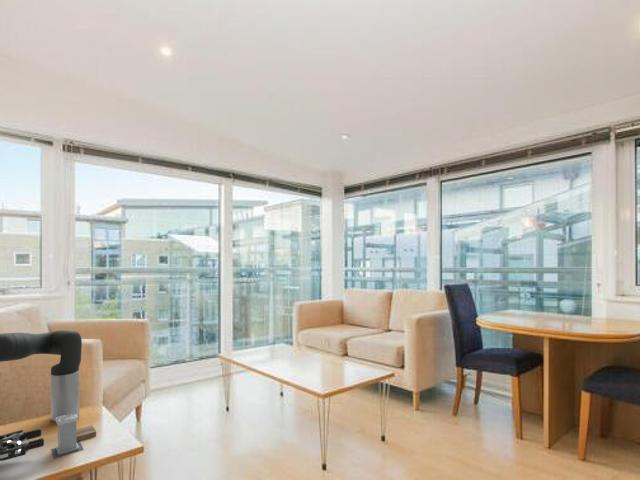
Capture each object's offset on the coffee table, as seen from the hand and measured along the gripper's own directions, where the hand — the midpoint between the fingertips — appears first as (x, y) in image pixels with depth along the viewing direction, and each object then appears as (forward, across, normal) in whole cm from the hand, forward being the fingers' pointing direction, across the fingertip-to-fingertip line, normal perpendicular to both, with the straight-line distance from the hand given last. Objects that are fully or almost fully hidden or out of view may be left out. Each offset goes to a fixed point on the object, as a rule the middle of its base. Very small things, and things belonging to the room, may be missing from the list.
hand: (42, 436), depth 124 cm
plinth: (+12, +8, +7) cm, 16 cm away
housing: (+6, 0, +6) cm, 9 cm away
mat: (+6, 0, +7) cm, 10 cm away
